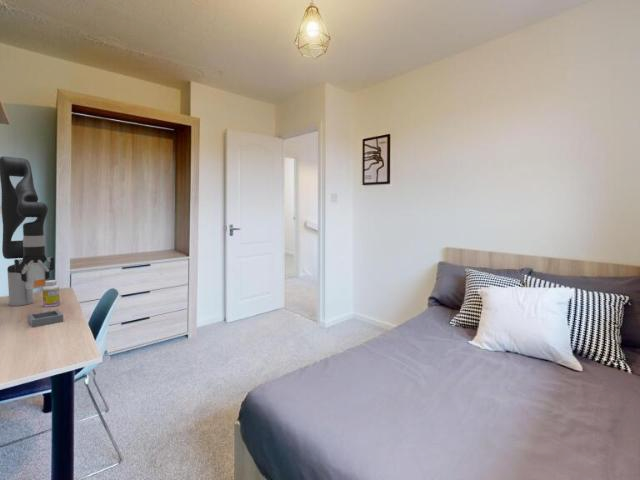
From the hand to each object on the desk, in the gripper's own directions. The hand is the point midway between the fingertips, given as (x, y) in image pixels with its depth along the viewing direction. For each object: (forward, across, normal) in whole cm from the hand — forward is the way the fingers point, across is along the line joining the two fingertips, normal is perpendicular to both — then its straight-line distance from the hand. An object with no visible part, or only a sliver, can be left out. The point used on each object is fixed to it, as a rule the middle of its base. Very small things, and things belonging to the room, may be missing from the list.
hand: (35, 280), depth 149 cm
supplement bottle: (+17, -8, -16) cm, 25 cm away
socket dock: (+17, -1, +13) cm, 21 cm away
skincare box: (+4, 0, 0) cm, 4 cm away
